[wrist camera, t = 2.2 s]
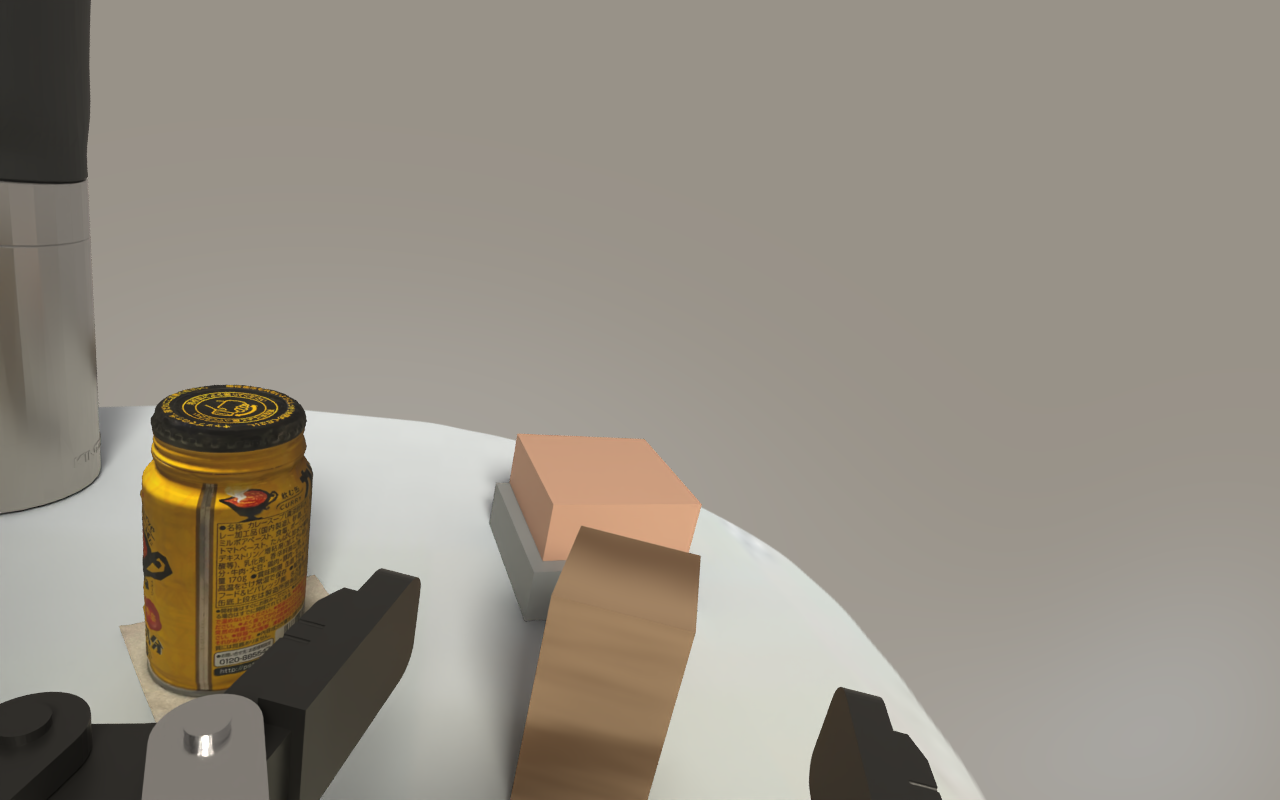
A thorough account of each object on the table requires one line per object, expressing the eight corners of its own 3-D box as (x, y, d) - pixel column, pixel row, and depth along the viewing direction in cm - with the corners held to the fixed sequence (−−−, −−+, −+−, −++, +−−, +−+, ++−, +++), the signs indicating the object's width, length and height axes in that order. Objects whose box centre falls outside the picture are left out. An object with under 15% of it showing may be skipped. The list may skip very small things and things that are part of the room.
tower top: (542, 561, 37) (553, 504, 36) (509, 482, 44) (517, 433, 43) (687, 555, 41) (701, 504, 39) (633, 483, 48) (644, 439, 47)
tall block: (633, 847, 26) (695, 632, 23) (507, 812, 26) (551, 595, 23) (647, 744, 30) (700, 555, 27) (541, 716, 31) (581, 525, 28)
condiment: (119, 630, 30) (108, 379, 27) (314, 577, 36) (328, 367, 33) (160, 740, 26) (155, 457, 22) (376, 659, 32) (400, 426, 28)
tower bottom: (523, 627, 37) (533, 572, 36) (488, 529, 45) (496, 482, 44) (684, 613, 41) (697, 564, 40) (624, 525, 50) (634, 483, 48)
